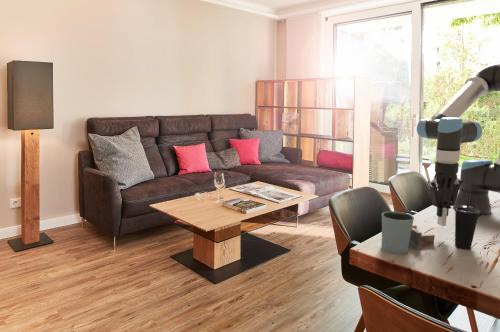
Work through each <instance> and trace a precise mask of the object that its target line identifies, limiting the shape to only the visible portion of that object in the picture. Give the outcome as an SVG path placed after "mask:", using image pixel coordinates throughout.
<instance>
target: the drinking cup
mask: <svg viewBox="0 0 500 332" xmlns="http://www.w3.org/2000/svg"><path fill="white" fill-rule="evenodd" d="M469 200H470V191H468V197H467V205H461V206H457V207H455V209H454V211H455V212H454V215H455V216H454V219H455V221H454V226H455V227H454V230H455V231H454V247H455V248H456V249H460V250H463V251H464V250H465V251H469V250H471V249H472V245H473V244H472V243H473V240H474V235H475V233H476V232H475V231H476V228H477V223H478V219H479V213H480V210H479V209H476V208H475V207H472V206H469Z"/></svg>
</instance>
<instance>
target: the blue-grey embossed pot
mask: <svg viewBox="0 0 500 332" xmlns="http://www.w3.org/2000/svg"><path fill="white" fill-rule="evenodd" d="M414 220H415V218H414V216H413V215H412V214H410V213H406V212H403V211H402V212H401V211H394V210H393V211H392V210H391V211H384V212H382V213H381V249H382V250H383V251H384V252H386V253H389V254H393V255H403V254H407V253H408V251H409V246H410V245H409V240H410V236H411V230H412V225H414Z"/></svg>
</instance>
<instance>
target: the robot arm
mask: <svg viewBox="0 0 500 332" xmlns="http://www.w3.org/2000/svg"><path fill="white" fill-rule="evenodd" d="M490 92H500V62H493V63H490V64H488V65H486V66H484V67H481V68H480V69H478V70H477V71H475V72H474V73H473V74H471V75H470V76H469V77H468V78H467V79H466V80H465V82H464V85H463V87H461V88H460V89H459V90H458V91H457V92H456V93H455V94H454V95H453V96H452V97H451V98H450V99H449V100H448V101H447V102H446V103H445V104H443V106H441V108H439V110H438V111H437V112H436V113H435V114H434V115H432V117H430V118H422V119H420V120H419V121H418V123H417V124H416V133H417V135H418V136H419V137H420V138H424V139H428V140H437V141H436V150H435V151H436V152H435V160H436V161H435V163H434V172H435V174H434V177H433V179H432V180H428V181H427V185H428V186H429V190H430V191H429V192H430V198H431V205H432V206H433V207H436V216H437V224H438V225H439V226H441V227H446V226H447V217H448V216H449V212H450V209H452V208H453V209H454V210H455V207H457V206H461V205H467V197H468V191H470V200H469V206H472V207H475V208H476V209H479V210H480V213H479V215H489V214H491V212H492V206H491V202H490V197H489V193H490V192H494V193H498V194H500V150H499V154H498V158H497V159H495V160H494V161H493V160H492V159H483V158H482V159H481V158H480V159H466V160H464V161H463V162H462V164H461V167H460V166H459V165H460V163H459V162H460V157H461V156H460V155H461V144H466V143H473V142H476V141H478V140H479V139H480V138H482V136H483V128H482V125H481V124H480V123H479V122H477V121H472V120H471V121H470V120H468V121H463V119H462V118H461V117H462V115H463V114H464V113H465V112H466V111H468V109H469V108H471V106H473V104H474V103H475V102H476V101H478V100H479V98H481V97H484V96H485V95H487V94H488V93H490ZM459 167H460V168H461V169H460V178H458V173H459ZM479 215H478V216H479Z"/></svg>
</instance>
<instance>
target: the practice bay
mask: <svg viewBox="0 0 500 332" xmlns="http://www.w3.org/2000/svg"><path fill="white" fill-rule="evenodd" d="M414 228H415V229H417V230H418V226H417V224H413V225H412V230H411V236H410V240H409V246H410V247H411V248H413V249H415V250H417V251H420V250H421V248H422V246H423V247H424V246H425V247H426V246H434V245H435V237H436V235H435V234H432V233H431V234H423V233H422V232H421V231H419V230H418V231H417V230H415V229H414Z"/></svg>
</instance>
